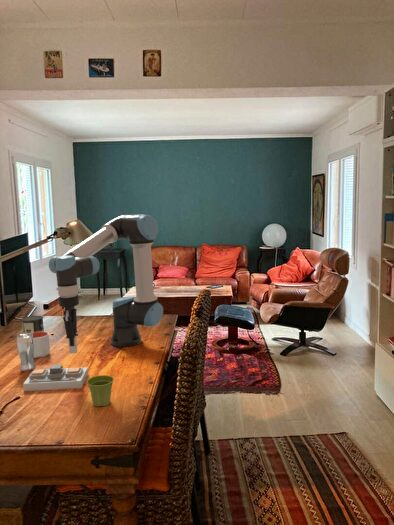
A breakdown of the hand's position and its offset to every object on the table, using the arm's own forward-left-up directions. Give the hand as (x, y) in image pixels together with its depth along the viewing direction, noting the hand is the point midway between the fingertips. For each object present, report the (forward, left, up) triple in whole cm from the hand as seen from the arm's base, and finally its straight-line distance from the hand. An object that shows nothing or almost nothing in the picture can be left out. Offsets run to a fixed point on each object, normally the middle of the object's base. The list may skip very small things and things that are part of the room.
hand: (73, 352), depth 179 cm
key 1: (+14, 0, -9) cm, 17 cm away
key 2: (0, 0, -9) cm, 9 cm away
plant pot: (-14, +21, -12) cm, 28 cm away
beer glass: (+24, -17, -12) cm, 32 cm away
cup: (+24, -34, -12) cm, 43 cm away
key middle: (+7, 0, -7) cm, 10 cm away
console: (+7, 0, -12) cm, 14 cm away
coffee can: (+31, -50, -12) cm, 60 cm away
